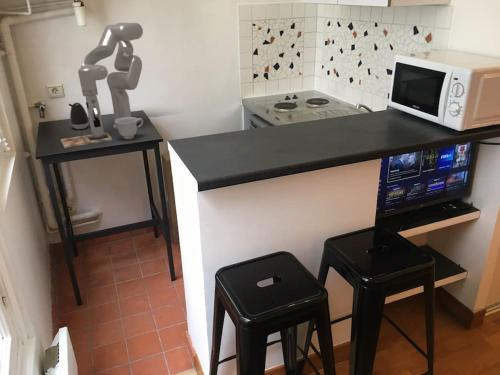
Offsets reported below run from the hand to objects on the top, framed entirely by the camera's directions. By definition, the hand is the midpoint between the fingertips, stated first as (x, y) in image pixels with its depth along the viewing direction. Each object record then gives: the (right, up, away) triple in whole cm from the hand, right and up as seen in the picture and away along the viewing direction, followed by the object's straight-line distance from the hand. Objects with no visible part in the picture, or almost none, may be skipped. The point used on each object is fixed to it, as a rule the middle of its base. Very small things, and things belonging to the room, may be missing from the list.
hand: (96, 124), depth 227 cm
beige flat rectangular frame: (-5, -9, 0) cm, 10 cm away
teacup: (+18, -6, +5) cm, 19 cm away
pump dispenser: (-17, +1, +22) cm, 28 cm away
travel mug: (0, -6, +3) cm, 7 cm away
